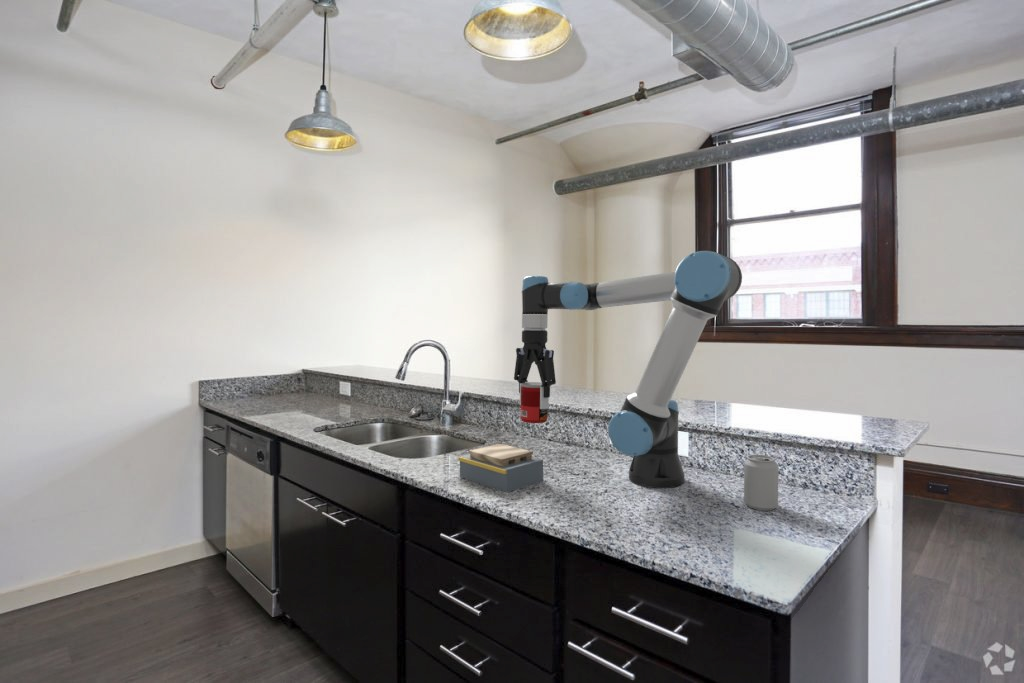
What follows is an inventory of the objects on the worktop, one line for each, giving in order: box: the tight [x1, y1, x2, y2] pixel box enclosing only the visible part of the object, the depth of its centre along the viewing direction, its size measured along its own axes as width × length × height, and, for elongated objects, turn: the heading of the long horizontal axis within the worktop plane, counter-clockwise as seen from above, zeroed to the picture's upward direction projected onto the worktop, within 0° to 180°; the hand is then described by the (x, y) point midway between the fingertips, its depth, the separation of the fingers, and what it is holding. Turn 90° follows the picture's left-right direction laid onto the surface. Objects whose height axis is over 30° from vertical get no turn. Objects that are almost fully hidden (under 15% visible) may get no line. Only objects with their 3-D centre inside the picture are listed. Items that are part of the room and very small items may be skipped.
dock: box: [457, 453, 544, 493], centre depth 152 cm, size 20×15×6 cm
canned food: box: [520, 381, 549, 424], centre depth 157 cm, size 8×8×11 cm
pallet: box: [468, 443, 534, 466], centre depth 152 cm, size 14×12×2 cm
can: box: [743, 454, 779, 512], centre depth 128 cm, size 8×8×12 cm
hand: (533, 406), depth 157 cm, fingers closed on canned food, 8 cm apart
